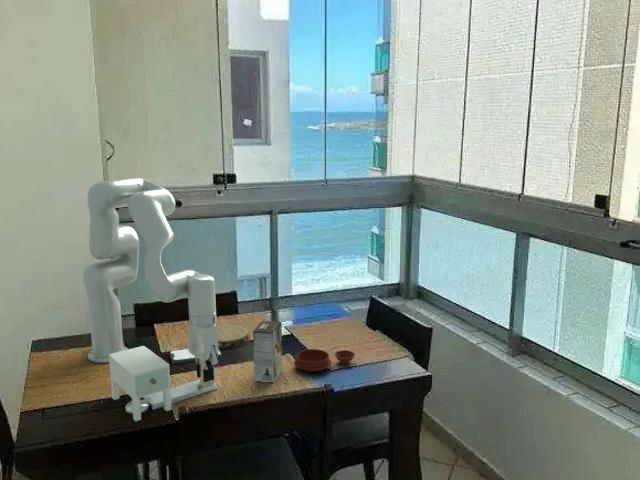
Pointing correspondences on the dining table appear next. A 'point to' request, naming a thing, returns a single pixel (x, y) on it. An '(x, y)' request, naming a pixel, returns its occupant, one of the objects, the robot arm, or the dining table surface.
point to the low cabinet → (139, 376)
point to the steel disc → (143, 406)
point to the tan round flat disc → (231, 336)
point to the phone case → (184, 356)
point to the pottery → (320, 359)
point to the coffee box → (267, 351)
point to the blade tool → (183, 390)
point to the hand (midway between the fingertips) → (205, 378)
